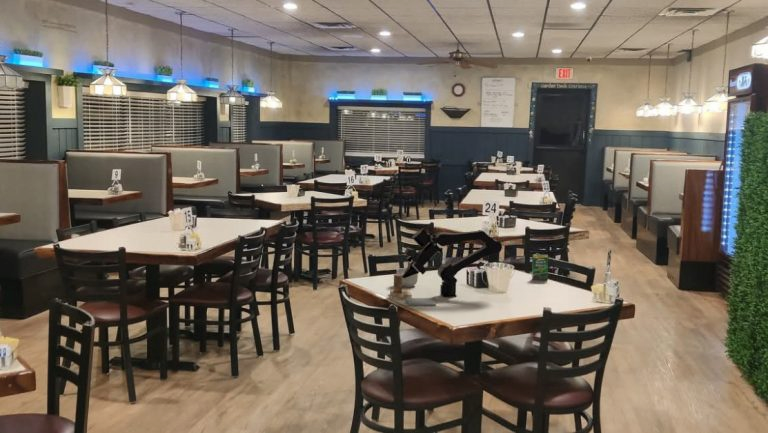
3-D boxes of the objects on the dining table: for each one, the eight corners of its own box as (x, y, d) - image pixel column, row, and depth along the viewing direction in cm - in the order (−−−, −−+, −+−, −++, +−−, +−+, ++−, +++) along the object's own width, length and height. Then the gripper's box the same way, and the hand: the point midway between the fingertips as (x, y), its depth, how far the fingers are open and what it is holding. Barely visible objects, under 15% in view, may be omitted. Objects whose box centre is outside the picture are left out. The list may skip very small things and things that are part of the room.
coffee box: (532, 279, 387) (533, 255, 386) (531, 278, 390) (532, 254, 389) (547, 280, 387) (548, 255, 385) (546, 279, 390) (547, 254, 388)
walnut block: (400, 295, 346) (401, 274, 345) (401, 297, 342) (402, 275, 341) (393, 295, 345) (393, 274, 344) (394, 297, 342) (394, 275, 341)
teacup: (402, 282, 375) (403, 266, 374) (422, 285, 369) (422, 269, 368) (388, 287, 363) (389, 271, 362) (408, 290, 357) (408, 273, 356)
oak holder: (409, 294, 349) (409, 289, 349) (411, 298, 339) (411, 294, 339) (390, 293, 349) (390, 289, 348) (391, 298, 339) (391, 294, 338)
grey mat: (432, 299, 338) (432, 298, 338) (435, 306, 326) (435, 304, 326) (405, 299, 337) (405, 298, 337) (408, 306, 325) (408, 304, 325)
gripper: (411, 238, 351) (387, 261, 351) (419, 244, 333) (394, 269, 332) (427, 255, 353) (403, 278, 353) (436, 262, 335) (411, 286, 335)
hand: (402, 277), depth 343 cm, fingers closed
